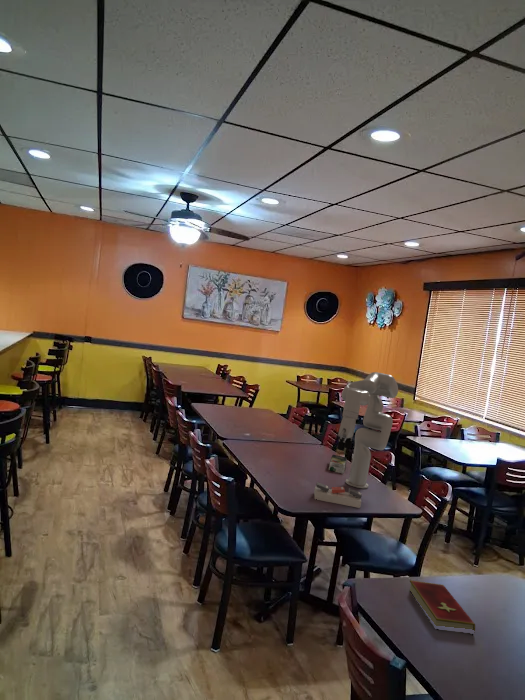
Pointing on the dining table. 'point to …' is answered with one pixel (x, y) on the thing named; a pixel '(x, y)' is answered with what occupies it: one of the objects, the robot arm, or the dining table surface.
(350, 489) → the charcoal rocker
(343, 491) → the red rocker
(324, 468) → the dining table surface
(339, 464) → the juice carton
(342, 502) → the rocker switch panel
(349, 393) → the robot arm
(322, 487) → the charcoal rocker
